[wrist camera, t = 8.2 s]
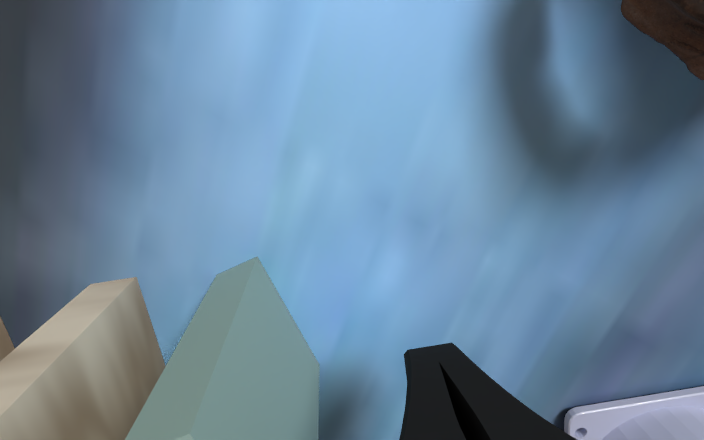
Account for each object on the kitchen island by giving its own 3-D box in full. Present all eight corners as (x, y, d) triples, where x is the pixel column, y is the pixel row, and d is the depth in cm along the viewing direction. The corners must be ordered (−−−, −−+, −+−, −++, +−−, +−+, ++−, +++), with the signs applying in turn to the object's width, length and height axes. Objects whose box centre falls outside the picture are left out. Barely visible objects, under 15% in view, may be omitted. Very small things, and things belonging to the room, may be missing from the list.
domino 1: (174, 394, 16) (46, 659, 9) (133, 400, 16) (-32, 673, 9) (136, 276, 15) (-58, 475, 7) (90, 284, 15) (-153, 491, 7)
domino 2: (319, 364, 17) (316, 604, 9) (282, 380, 17) (247, 630, 9) (257, 256, 15) (189, 433, 7) (217, 274, 15) (109, 467, 8)
